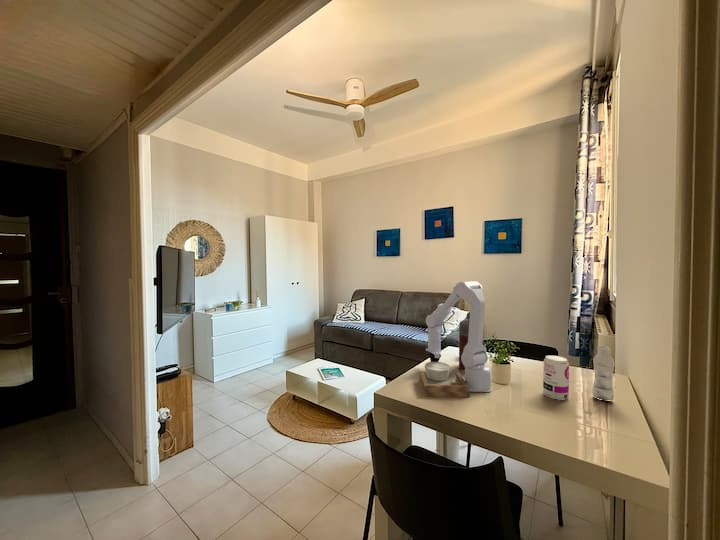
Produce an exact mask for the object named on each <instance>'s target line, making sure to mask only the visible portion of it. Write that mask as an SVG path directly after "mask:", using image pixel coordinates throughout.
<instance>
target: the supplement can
mask: <svg viewBox="0 0 720 540" xmlns="http://www.w3.org/2000/svg"><path fill="white" fill-rule="evenodd" d="M542 375H543V377H542V379H543V380H542V383H543V384H542V388H543V389H542V392H543V394H544V396H545V395H546V397H547V396H548V397H550V398H549V399H551V398H553V399H552V400H554V399H559V400H558V401H560V400H563V401H566V400H568V399H569V394H570V393H569V390H570V362H569V361H568V358H566V357H565V356H559V355H545V358H544V359H543V374H542ZM548 397H547V398H548ZM565 399H566V400H565Z"/></svg>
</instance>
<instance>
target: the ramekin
mask: <svg viewBox="0 0 720 540" xmlns="http://www.w3.org/2000/svg"><path fill="white" fill-rule="evenodd" d="M424 369H425V374H426V377H427V378H428V379H430V380H431V381H434V382H435V381H436V382H443V381H446V380H448V378H449V375H450V371H451V366H450V365H449V364H448V363H445V362H442V361H438V362H431V361H428V362H426V363H425V364H424Z"/></svg>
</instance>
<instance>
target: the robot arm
mask: <svg viewBox="0 0 720 540" xmlns="http://www.w3.org/2000/svg"><path fill="white" fill-rule="evenodd" d="M483 291H484V287H483V286H482V285H481V283H480V282H478V281H477V280H471V281H459V282H457V283H456V284H455V286H454V287H453V290H452V292H451V293H450V294H449V296H448V297H447V299H446V300H445V302H444V303H440V304H438V305H437V308H436V309H435V310H434V311H432V313H431V314H428V315H427V316H426V318H425V325H426V326H427V331H428V332H427V335H428V337H427V339H428V341H427V343H428V344H427V345H428V346H427V348H425V351H426V352H427V354H428V356H429V360H430V361H429V362H440V359H441V357H442V354H441V352H442V349H441V347H442V345H441V344H442V343H441V338H442V337H441V336H442V335H441V333H442V328H443V327H442V326H444V322H445V321H444V320H445V319H447V317H448V316H449V315H450V314H451V312H452V311H451V308H452V307H453V306H454V305H455V304H456V303H457V302H458V301H459V300H460V299H462V300H463V301H465V302H466V303H468V304H469V306H470V308H469V312H470V320H469V335H468V343H467V345H466V346H465V347H464V351H463V354H462V356H461V360H462V363H463V365H464V367H465V371H464V380H465V382H466V383H467V384H468V386H469V393H470V392H475V393H476V392H477V393H478V392H479V393H491V392H492V390H491V379H492V378H491V377H492V376H491V370H490V368H489V367H488V366H485V365H486V363H487V362H488V357H489V356H488V354H487V347H486V346H485V345H484V344H483V345H482V341H483V342H484V330H483V328H484V326H485V312H486V299H485V297H484V293H483Z"/></svg>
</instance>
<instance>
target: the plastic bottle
mask: <svg viewBox="0 0 720 540" xmlns="http://www.w3.org/2000/svg"><path fill="white" fill-rule="evenodd" d="M611 353H612V352H611V348H610V347H608V346H604V345H598V346H597V353H596V355H594V357H593V359H592V360H593V361H592V362H593V369H594V372H593V373H594V379H593V385H592V389H591V393H592V396H593V398H595V397H596V398H599V399H602V400H612V401H613V400H614V397H615V393H614V387H613V377H614V376H613V375H614V370H615V366H616V363H615V360H614V359H613V357H612V356H611ZM596 398H595V399H596Z"/></svg>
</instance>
